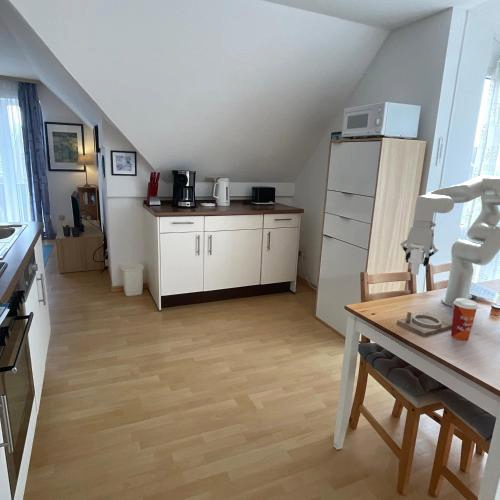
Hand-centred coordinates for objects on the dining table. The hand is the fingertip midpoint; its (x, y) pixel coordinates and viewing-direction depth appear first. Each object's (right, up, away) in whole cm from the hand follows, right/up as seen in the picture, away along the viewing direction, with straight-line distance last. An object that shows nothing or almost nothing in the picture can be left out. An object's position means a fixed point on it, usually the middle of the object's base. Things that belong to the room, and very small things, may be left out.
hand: (416, 263), depth 162 cm
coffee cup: (+8, -28, -19) cm, 35 cm away
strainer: (0, -5, +1) cm, 5 cm away
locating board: (0, -26, -10) cm, 27 cm away
